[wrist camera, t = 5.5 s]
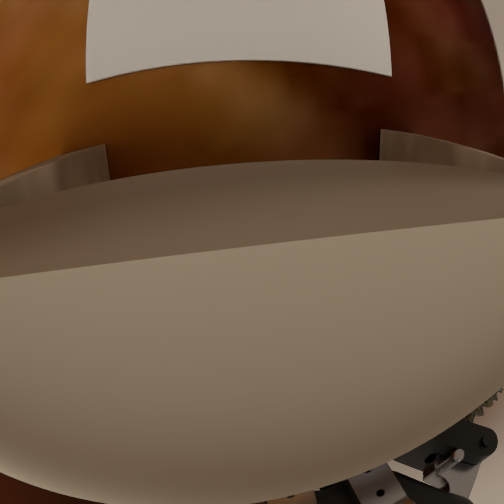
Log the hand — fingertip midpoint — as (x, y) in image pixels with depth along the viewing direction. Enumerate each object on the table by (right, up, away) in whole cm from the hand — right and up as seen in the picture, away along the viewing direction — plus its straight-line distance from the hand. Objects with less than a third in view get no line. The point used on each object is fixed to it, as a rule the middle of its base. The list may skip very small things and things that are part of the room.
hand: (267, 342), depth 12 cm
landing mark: (-1, +16, -7) cm, 18 cm away
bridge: (-1, +7, -2) cm, 8 cm away
